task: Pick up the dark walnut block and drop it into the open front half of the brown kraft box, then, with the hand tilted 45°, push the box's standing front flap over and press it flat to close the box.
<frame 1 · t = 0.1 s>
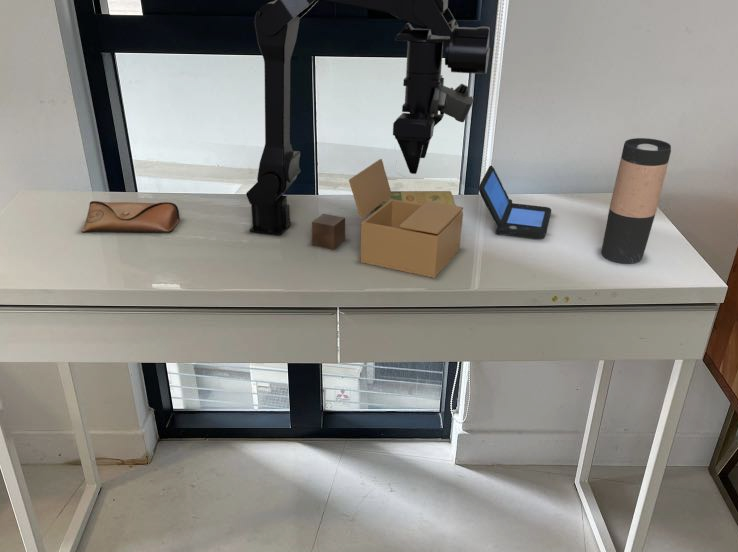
hand: (417, 165, 127), 15 cm above the table, tool pointing down, fingers open, 9 cm apart
sunglasses case: (131, 227, 142), on the table
travel mug: (621, 256, 131), on the table
flap: (371, 187, 127), point 11 cm above the table, hinge at 110.0°
walnut block: (328, 243, 135), on the table
carton: (412, 218, 146), on the table
game console: (513, 224, 144), on the table
kraft box: (410, 256, 130), on the table
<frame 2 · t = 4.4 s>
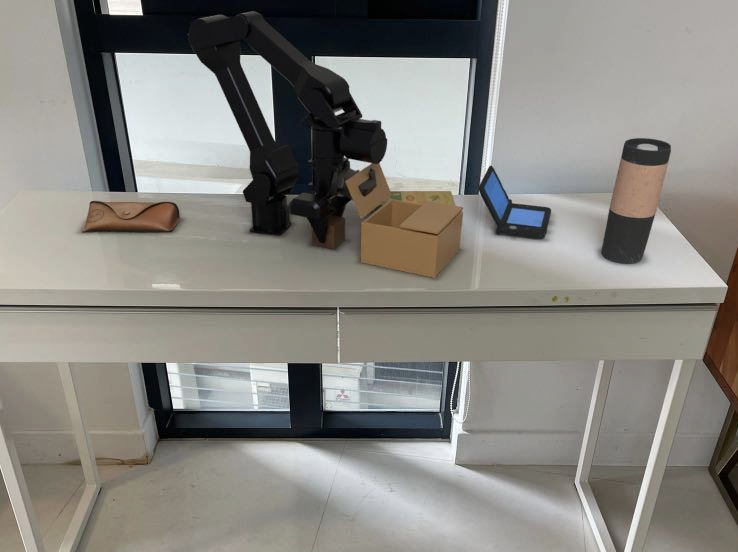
hand: (328, 237, 135), 1 cm above the table, tool pointing down, fingers closed on walnut block, 4 cm apart
flap: (369, 188, 127), point 11 cm above the table, hinge at 116.2°
walnut block: (328, 242, 135), on the table, touching gripper
everything else where it was.
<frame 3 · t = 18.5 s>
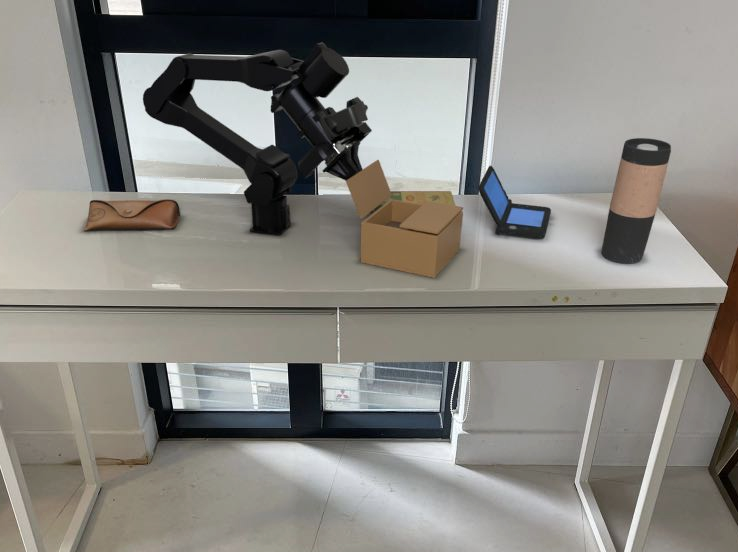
hand: (365, 187, 127), 11 cm above the table, tool tilted 45°, fingers closed, pressing on flap
flap: (369, 188, 127), point 11 cm above the table, hinge at 115.1°, touching gripper
walnut block: (395, 250, 131), resting on kraft box
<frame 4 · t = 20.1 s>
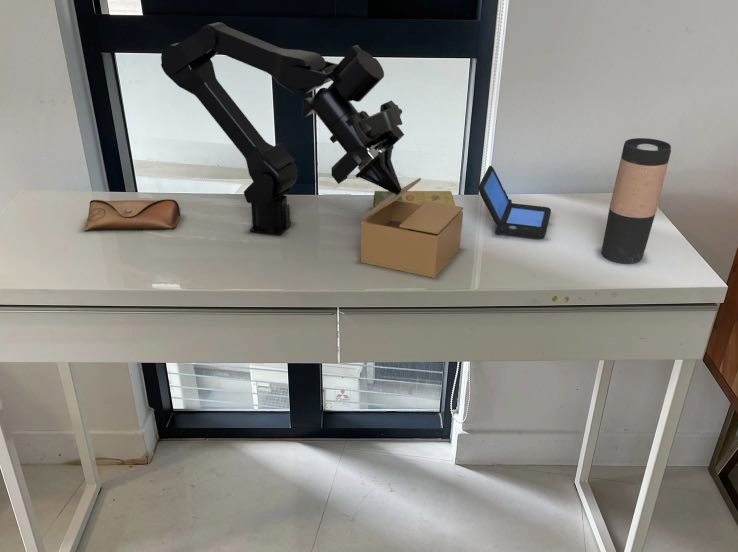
hand: (399, 192, 125), 11 cm above the table, tool tilted 45°, fingers closed, pressing on flap
flap: (392, 198, 126), point 10 cm above the table, hinge at 36.0°, touching gripper
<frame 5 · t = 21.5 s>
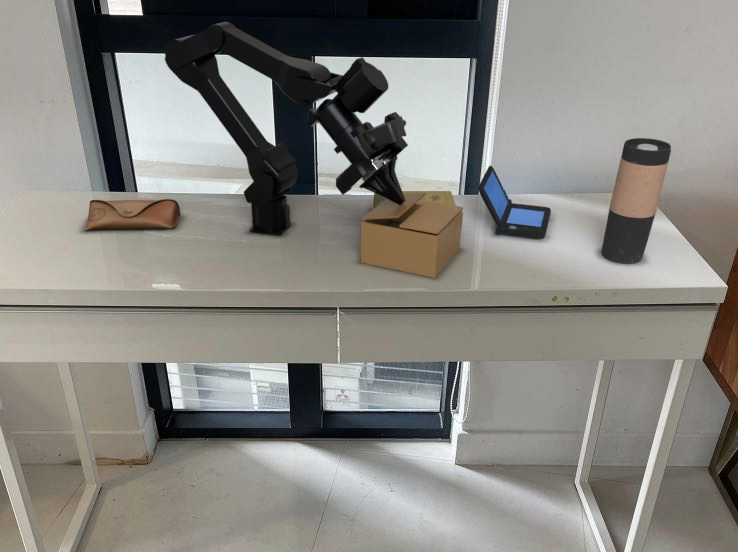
hand: (402, 202, 126), 10 cm above the table, tool tilted 45°, fingers closed, pressing on flap
flap: (394, 205, 127), point 9 cm above the table, hinge at 12.9°, touching gripper
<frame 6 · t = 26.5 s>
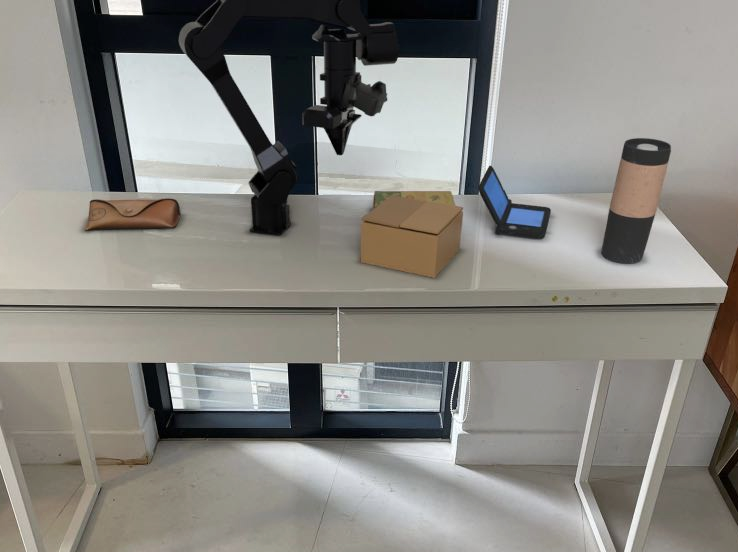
hand: (340, 154, 138), 13 cm above the table, tool pointing down, fingers closed
flap: (394, 210, 127), point 8 cm above the table, hinge at -1.4°
at the end: walnut block inside the target area in the kraft box (3.0 cm from its centre), point 0.5 cm above the kraft box's base; flap at -1° (first picture: +110°) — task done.
